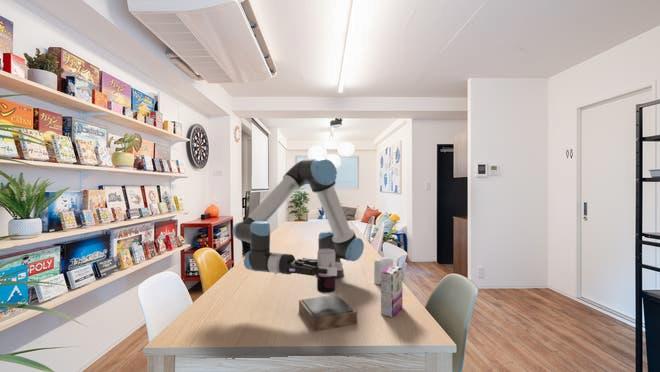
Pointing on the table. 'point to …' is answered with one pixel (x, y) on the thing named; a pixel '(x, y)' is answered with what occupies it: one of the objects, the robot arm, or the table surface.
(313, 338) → the table surface
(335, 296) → the walnut stand
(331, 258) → the beverage can
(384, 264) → the photo printer
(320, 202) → the robot arm
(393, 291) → the candy bar box
